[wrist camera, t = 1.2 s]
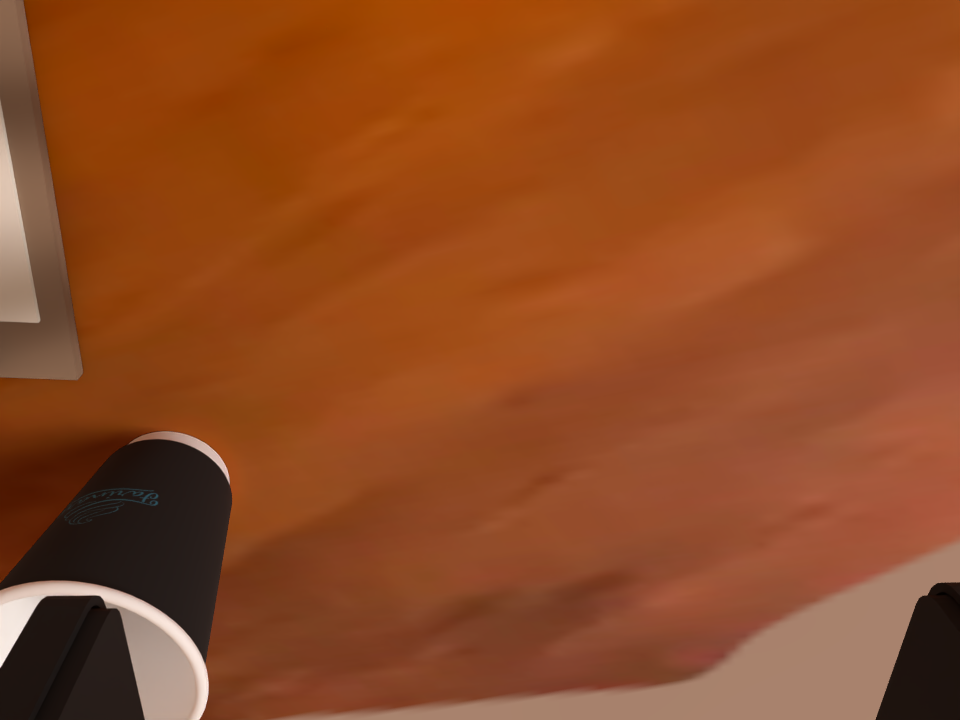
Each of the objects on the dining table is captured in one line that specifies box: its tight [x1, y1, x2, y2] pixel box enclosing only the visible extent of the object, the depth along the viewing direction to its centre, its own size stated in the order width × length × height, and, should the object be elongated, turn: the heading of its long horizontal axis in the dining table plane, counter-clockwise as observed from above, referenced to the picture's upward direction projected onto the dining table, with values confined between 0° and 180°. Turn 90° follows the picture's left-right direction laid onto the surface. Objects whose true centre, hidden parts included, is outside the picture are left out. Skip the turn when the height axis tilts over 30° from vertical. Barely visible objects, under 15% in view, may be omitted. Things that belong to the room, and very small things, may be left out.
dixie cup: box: [0, 431, 232, 720], centre depth 31 cm, size 8×8×11 cm
